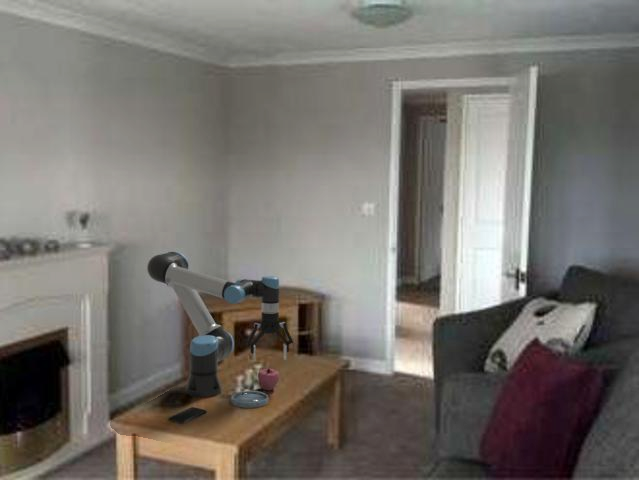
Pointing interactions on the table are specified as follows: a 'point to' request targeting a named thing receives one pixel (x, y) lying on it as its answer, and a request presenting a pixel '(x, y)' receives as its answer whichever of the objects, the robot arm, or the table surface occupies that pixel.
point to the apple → (268, 378)
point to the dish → (250, 399)
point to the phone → (187, 415)
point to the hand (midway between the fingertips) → (269, 359)
